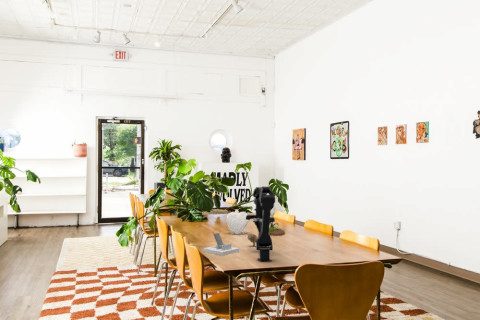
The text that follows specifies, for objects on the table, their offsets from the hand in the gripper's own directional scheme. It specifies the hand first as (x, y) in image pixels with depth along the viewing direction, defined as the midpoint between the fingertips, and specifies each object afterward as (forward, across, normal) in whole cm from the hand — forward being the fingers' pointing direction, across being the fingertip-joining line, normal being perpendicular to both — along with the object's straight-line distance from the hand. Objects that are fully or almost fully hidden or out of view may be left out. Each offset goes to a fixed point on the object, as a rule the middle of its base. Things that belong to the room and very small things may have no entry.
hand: (259, 232), depth 276 cm
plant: (+14, +37, -64) cm, 75 cm away
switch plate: (+13, +20, +13) cm, 27 cm away
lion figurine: (+13, +13, -15) cm, 24 cm away
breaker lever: (+10, +20, +13) cm, 26 cm away
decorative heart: (+13, +53, -42) cm, 69 cm away
